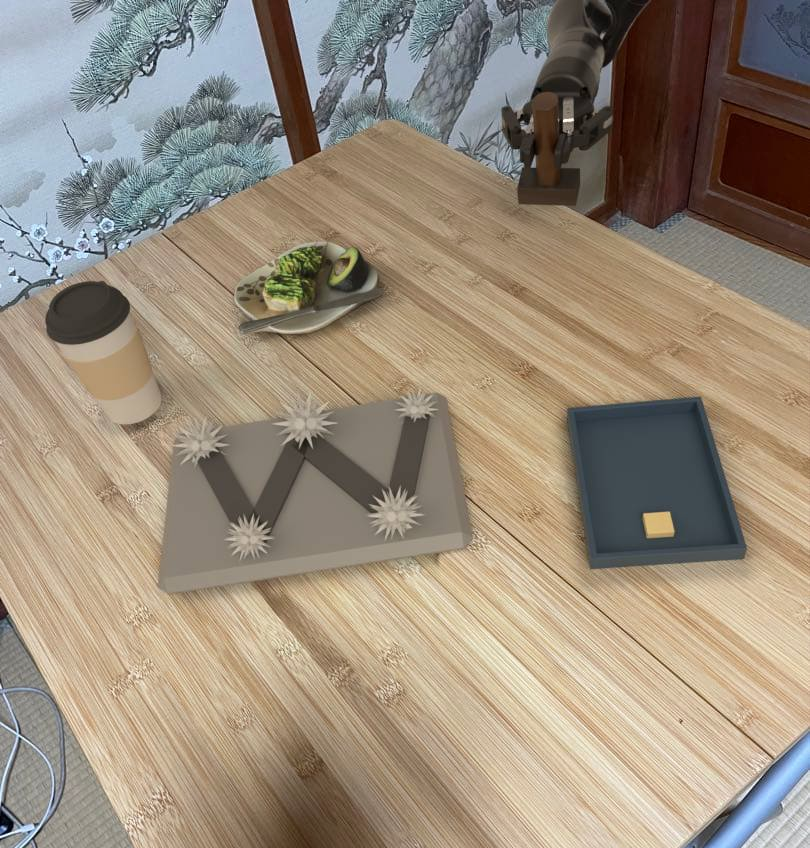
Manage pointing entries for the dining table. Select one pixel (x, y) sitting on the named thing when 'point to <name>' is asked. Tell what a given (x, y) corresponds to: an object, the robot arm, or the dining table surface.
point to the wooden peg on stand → (547, 161)
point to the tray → (652, 484)
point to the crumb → (658, 525)
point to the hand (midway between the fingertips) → (542, 159)
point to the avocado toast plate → (306, 289)
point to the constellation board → (312, 493)
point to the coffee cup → (105, 349)
